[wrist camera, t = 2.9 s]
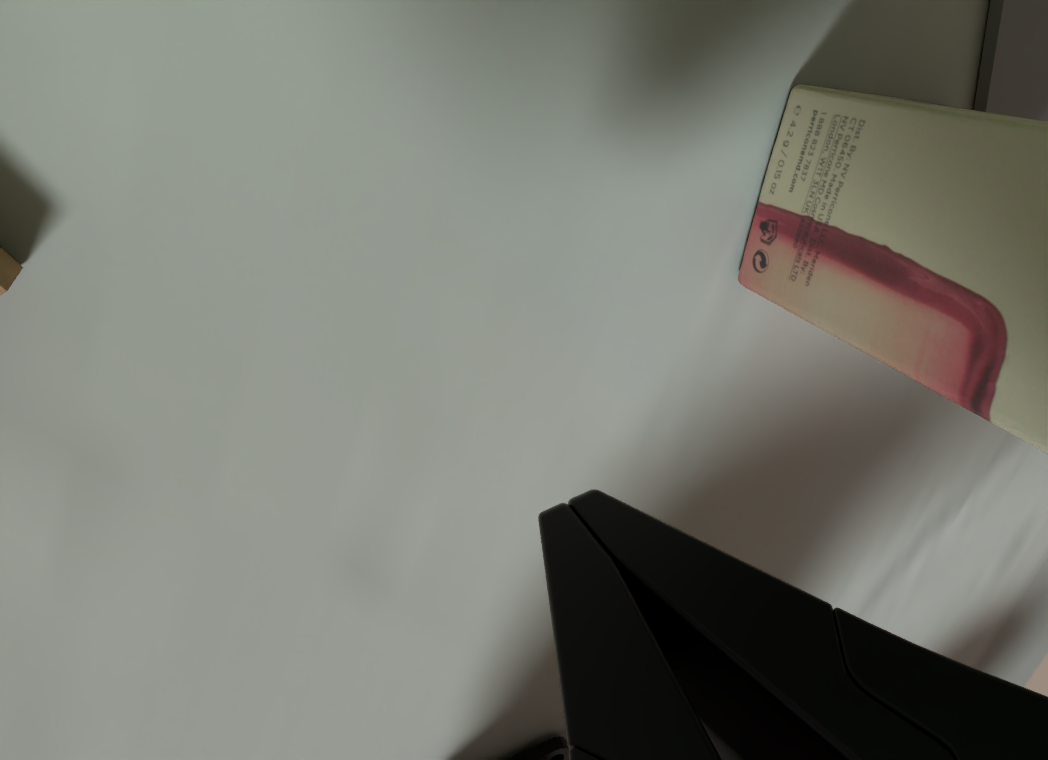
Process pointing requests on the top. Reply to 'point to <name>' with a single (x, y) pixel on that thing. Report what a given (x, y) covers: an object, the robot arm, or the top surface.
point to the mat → (1015, 60)
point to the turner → (7, 271)
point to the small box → (915, 243)
